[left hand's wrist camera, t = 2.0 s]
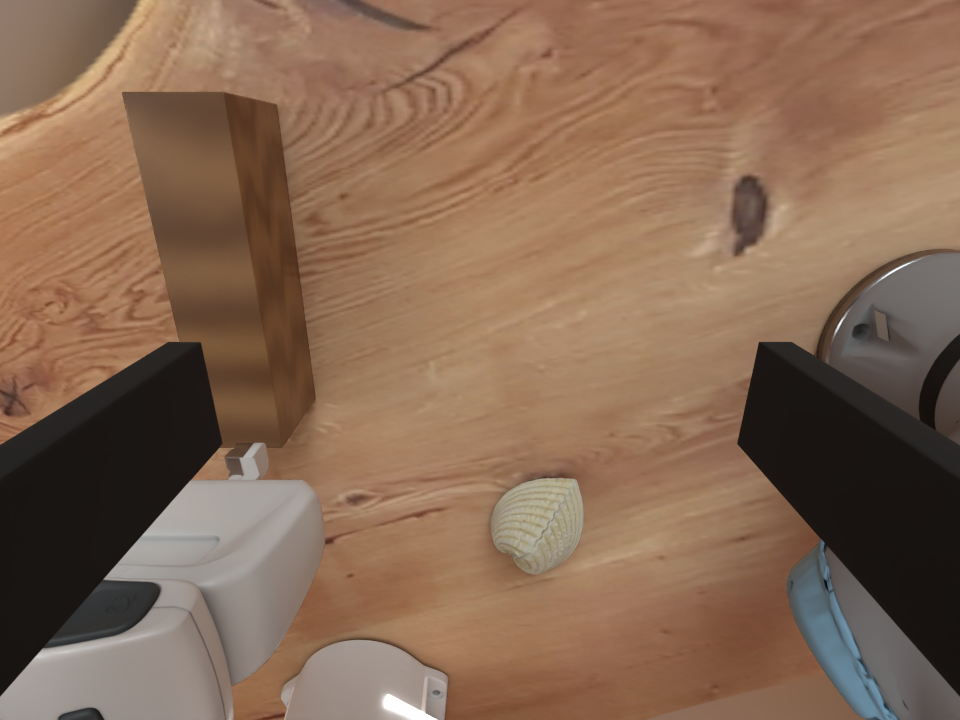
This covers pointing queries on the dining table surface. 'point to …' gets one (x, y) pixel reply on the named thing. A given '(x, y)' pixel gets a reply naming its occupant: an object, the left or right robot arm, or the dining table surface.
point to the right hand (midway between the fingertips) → (170, 453)
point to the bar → (228, 252)
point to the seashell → (539, 523)
